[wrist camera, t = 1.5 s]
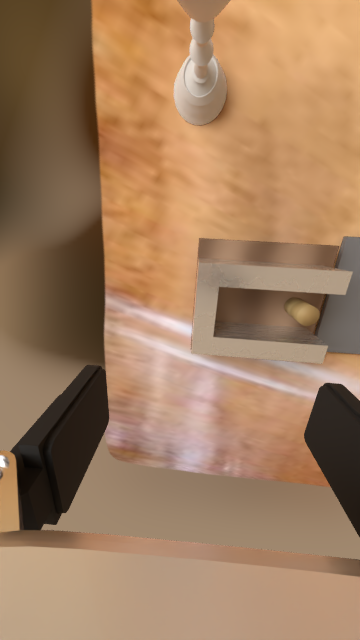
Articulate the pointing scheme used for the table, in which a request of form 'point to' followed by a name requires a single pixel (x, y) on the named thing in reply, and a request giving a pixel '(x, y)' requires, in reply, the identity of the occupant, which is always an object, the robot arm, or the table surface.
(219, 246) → the stand
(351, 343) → the mat
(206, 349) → the c link
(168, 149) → the table surface
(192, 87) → the chalice
